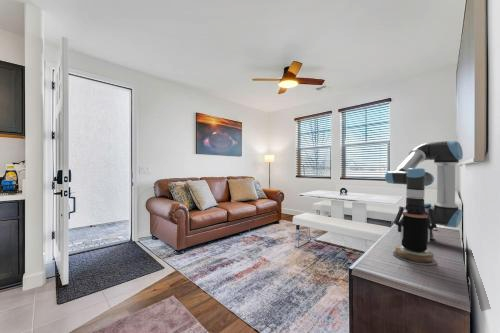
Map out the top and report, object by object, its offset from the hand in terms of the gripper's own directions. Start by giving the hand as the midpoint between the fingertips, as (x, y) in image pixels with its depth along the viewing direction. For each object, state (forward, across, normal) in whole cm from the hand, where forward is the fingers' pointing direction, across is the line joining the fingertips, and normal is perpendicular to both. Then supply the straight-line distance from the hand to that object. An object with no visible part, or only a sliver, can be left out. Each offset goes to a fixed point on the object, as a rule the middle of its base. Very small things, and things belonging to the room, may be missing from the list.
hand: (414, 239), depth 114 cm
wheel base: (+9, 0, 0) cm, 9 cm away
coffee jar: (+5, 0, 0) cm, 5 cm away
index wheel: (+9, 0, 0) cm, 9 cm away
